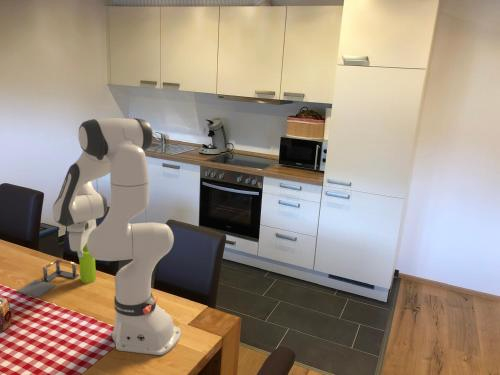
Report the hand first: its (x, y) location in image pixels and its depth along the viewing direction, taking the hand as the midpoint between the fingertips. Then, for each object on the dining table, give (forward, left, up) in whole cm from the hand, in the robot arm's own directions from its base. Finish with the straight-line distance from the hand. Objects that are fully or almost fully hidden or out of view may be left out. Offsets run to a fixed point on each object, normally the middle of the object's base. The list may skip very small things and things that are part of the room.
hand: (85, 251), depth 166 cm
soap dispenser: (0, 0, -13) cm, 13 cm away
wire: (+10, +4, -13) cm, 16 cm away
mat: (+13, +13, -13) cm, 22 cm away
